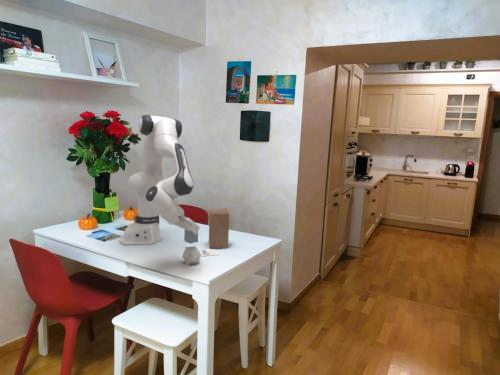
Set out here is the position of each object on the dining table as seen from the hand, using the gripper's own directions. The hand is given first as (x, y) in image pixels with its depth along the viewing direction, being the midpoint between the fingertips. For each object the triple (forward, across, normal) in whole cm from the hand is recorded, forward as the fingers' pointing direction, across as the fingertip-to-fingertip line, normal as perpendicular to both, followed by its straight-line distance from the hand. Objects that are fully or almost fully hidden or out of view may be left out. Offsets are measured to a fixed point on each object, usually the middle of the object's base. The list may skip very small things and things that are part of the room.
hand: (192, 232), depth 174 cm
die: (+11, 0, +11) cm, 15 cm away
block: (+29, +13, -7) cm, 32 cm away
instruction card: (+20, +7, +2) cm, 21 cm away
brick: (+3, 0, +4) cm, 5 cm away
